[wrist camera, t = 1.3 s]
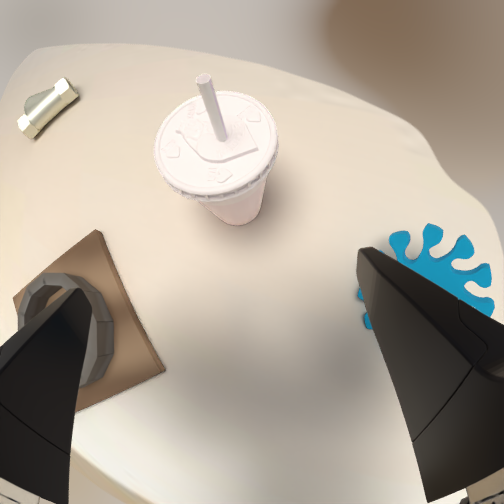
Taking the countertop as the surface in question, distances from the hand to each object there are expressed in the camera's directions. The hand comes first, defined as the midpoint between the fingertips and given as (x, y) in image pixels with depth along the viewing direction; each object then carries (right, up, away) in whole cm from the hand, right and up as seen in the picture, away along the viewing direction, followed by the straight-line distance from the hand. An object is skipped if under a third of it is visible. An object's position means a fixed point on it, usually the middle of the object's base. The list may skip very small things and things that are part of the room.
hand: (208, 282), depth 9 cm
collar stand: (-14, -6, +14) cm, 21 cm away
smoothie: (0, +5, +15) cm, 15 cm away
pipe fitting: (-25, +19, +20) cm, 37 cm away
